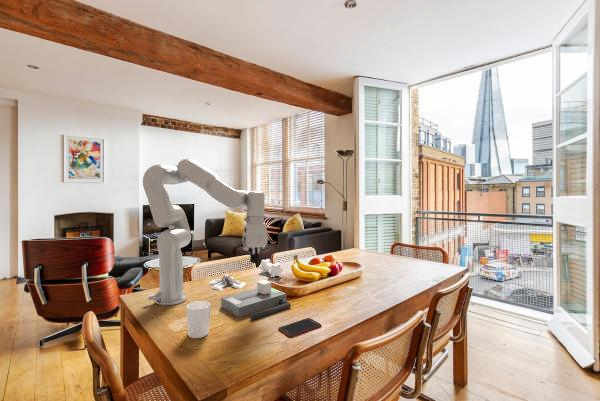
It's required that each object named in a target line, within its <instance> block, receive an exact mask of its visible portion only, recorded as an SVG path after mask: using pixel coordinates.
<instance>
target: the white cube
mask: <svg viewBox="0 0 600 401" xmlns="http://www.w3.org/2000/svg"><path fill="white" fill-rule="evenodd" d="M271 287H272V282H271V281H268V280H266V279H262V280H259V281H256V289H257V292H259V293H261V294H268V293H271Z"/></svg>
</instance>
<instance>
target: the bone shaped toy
mask: <svg viewBox="0 0 600 401" xmlns="http://www.w3.org/2000/svg"><path fill="white" fill-rule="evenodd" d="M258 268H259V269H260V270H261V273H262V274H265V273H269V275H270V277H271V278H272V277H275V276H278V275H280V276H281V275H282V272H283V270H284V269H283V267H281V264H280V262H276V263H272V262H271V259H270V258H267V259H262V260H261V261H260V265H258ZM275 278H276V277H275Z"/></svg>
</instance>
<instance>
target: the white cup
mask: <svg viewBox="0 0 600 401" xmlns="http://www.w3.org/2000/svg"><path fill="white" fill-rule="evenodd" d="M185 306H186V307H185V308H186V325H187V335H188V337H189V338H191V339H201V338H203V337H206V336H207V335H209V333H210V325H211V324H210V323H211V321H210V320H211V307H212V306H211V302H209V301H207V300H197V301H196V300H195V301H192V302H189V303H188V304H186V305H185Z"/></svg>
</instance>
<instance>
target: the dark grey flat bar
mask: <svg viewBox="0 0 600 401" xmlns="http://www.w3.org/2000/svg"><path fill="white" fill-rule="evenodd" d="M279 303H280V304H279V305H276V306H273V307H270V308H267V309H264V310H261V311H258V312H255V313H251V314H249V320H252V321H253V320H256V319H260V318H264V317H265V316H268V315H272V314H275V313H277V312H281V311H283V310H286V309H288V308H291V307H292V305H291V303H290V302H288V301H287V300H286V301H284V300H280V302H279Z"/></svg>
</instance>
